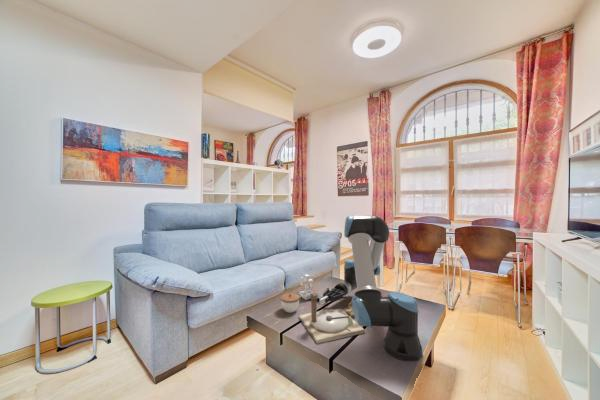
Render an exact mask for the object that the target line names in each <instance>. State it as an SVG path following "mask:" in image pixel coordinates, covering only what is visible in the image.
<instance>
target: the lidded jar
mask: <svg viewBox="0 0 600 400" xmlns="http://www.w3.org/2000/svg"><path fill="white" fill-rule="evenodd" d="M280 304H281V307H282V309H283V310H284V312H285V313H288V314H290V313H291V314H292V313H294V312H295V311H297V309H298V308H299V304H300V294H296V293H292V292H289V293H284V294H282V295H280Z"/></svg>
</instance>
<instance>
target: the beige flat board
mask: <svg viewBox="0 0 600 400" xmlns="http://www.w3.org/2000/svg"><path fill="white" fill-rule="evenodd" d="M329 310H330V311H336V312H339V313H342V314H343V315H345V316H350V314H349V315H348V314H347V313H346V311H344V310H343V309H342V308H341V307H338V308H331V309H329ZM298 318H299V321H301V323H302V324H303V326H304V327H305V329H306V330H307V331H308V333H309V334H310V335H311V337H312V338H313V340H314V342H315V343H316V344H322V343H326V342H331V341H334V340H340V339H343V338H348V337H352V336H357V335H361V334H364V333H366V331H365V330H366V329H364V328H363V326H361V325H359V324H358V323H357V322H356V320H355V319H353V318H351V317H348V318H347V319H348V326H347V327H346V328H345V329H344V330H342V331H338V332H324V331H321V330H318V329H316V328H315V327H313V326H312V324H311V312H309V313H303V314H299V317H298Z"/></svg>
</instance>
